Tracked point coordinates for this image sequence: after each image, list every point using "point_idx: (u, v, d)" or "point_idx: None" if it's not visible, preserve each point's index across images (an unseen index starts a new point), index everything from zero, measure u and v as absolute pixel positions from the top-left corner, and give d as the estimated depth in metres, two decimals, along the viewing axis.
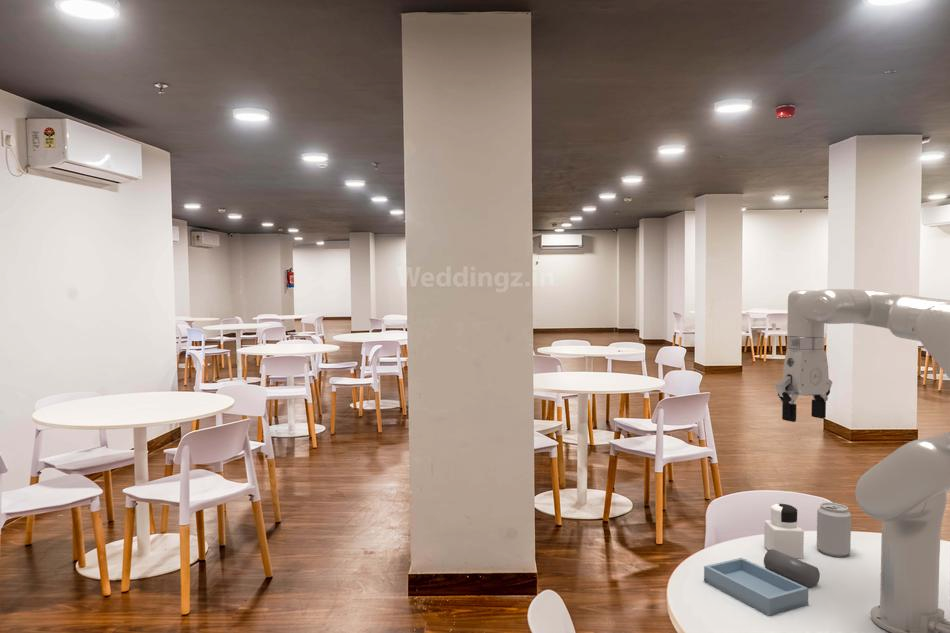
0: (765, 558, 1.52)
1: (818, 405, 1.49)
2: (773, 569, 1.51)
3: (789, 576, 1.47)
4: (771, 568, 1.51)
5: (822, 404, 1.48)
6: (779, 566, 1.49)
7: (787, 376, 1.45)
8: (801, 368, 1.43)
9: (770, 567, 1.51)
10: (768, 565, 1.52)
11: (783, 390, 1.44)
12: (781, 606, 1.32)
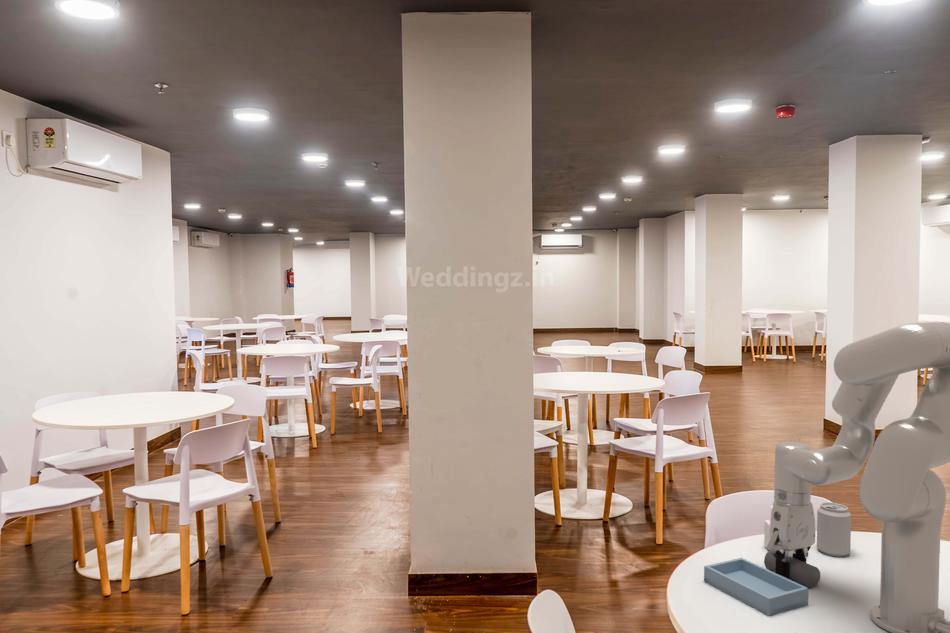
0: (766, 557, 1.52)
1: None
2: (773, 568, 1.51)
3: (789, 575, 1.47)
4: (771, 567, 1.51)
5: (803, 561, 1.49)
6: None
7: (775, 533, 1.47)
8: (788, 524, 1.44)
9: (770, 566, 1.51)
10: (768, 564, 1.51)
11: (775, 550, 1.46)
12: (781, 606, 1.32)
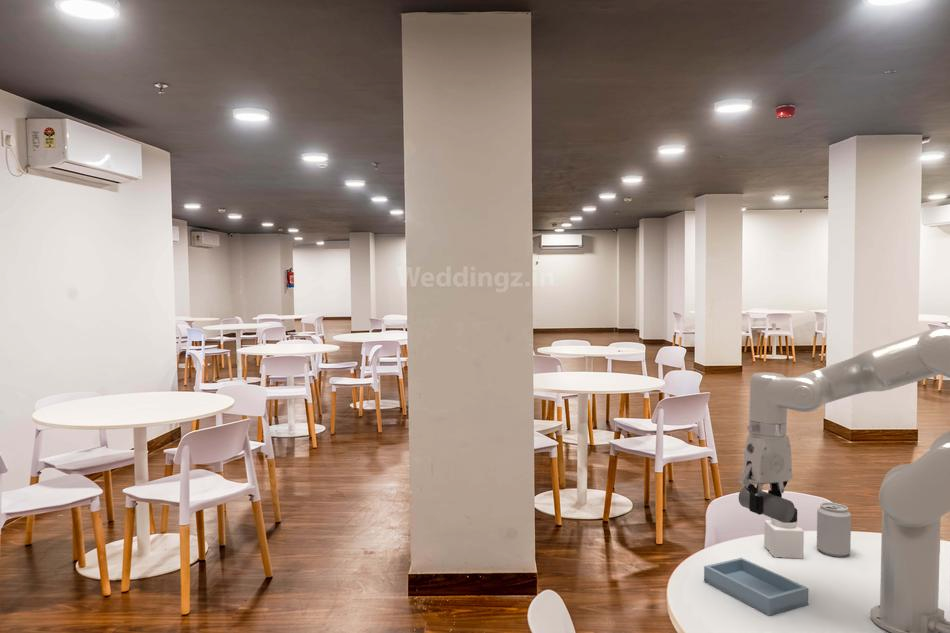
0: (740, 493, 1.46)
1: None
2: (747, 504, 1.44)
3: None
4: (745, 503, 1.45)
5: (778, 496, 1.42)
6: None
7: (748, 466, 1.40)
8: (761, 456, 1.38)
9: (744, 502, 1.45)
10: (743, 500, 1.45)
11: (748, 483, 1.39)
12: (781, 606, 1.32)
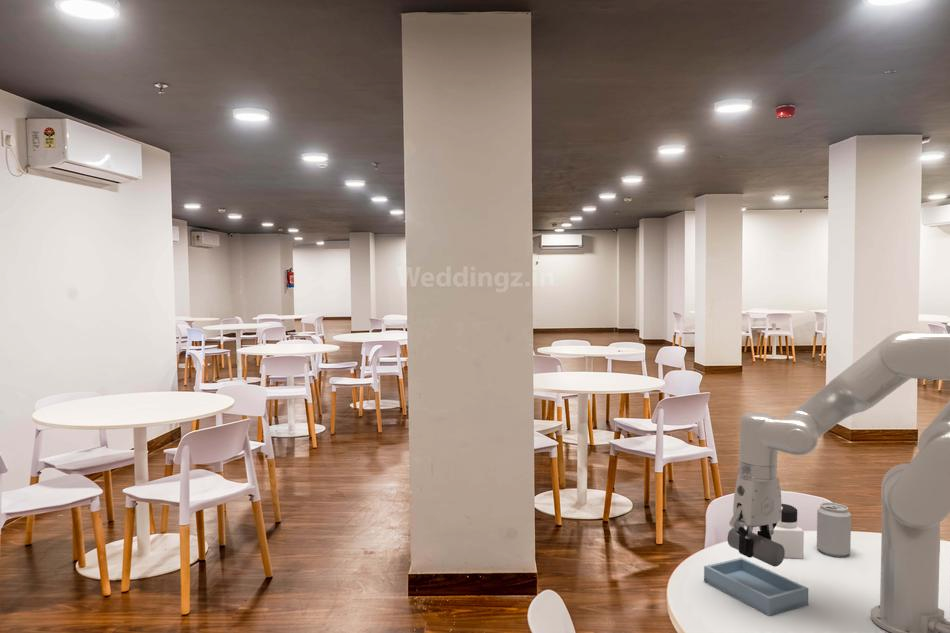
0: (729, 534, 1.44)
1: None
2: (736, 546, 1.42)
3: None
4: (734, 545, 1.43)
5: (767, 538, 1.40)
6: None
7: (738, 508, 1.38)
8: (751, 499, 1.36)
9: (733, 544, 1.43)
10: (732, 541, 1.43)
11: (738, 526, 1.37)
12: (781, 606, 1.32)
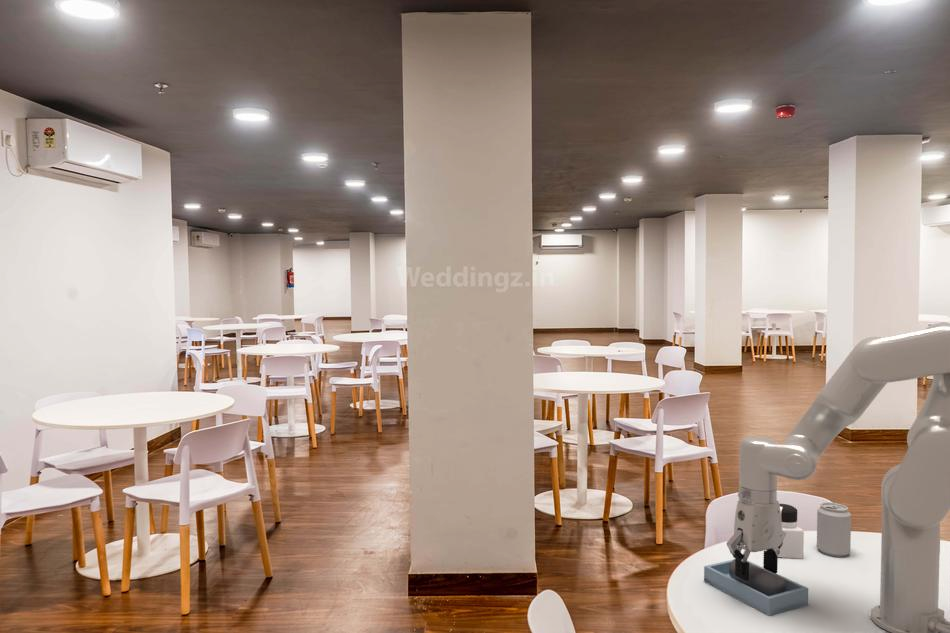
0: (731, 566, 1.44)
1: (770, 558, 1.42)
2: (738, 578, 1.42)
3: (754, 586, 1.38)
4: (736, 577, 1.43)
5: (774, 558, 1.41)
6: None
7: (738, 531, 1.38)
8: (752, 524, 1.36)
9: (735, 576, 1.43)
10: (733, 574, 1.43)
11: (734, 548, 1.37)
12: (781, 606, 1.32)
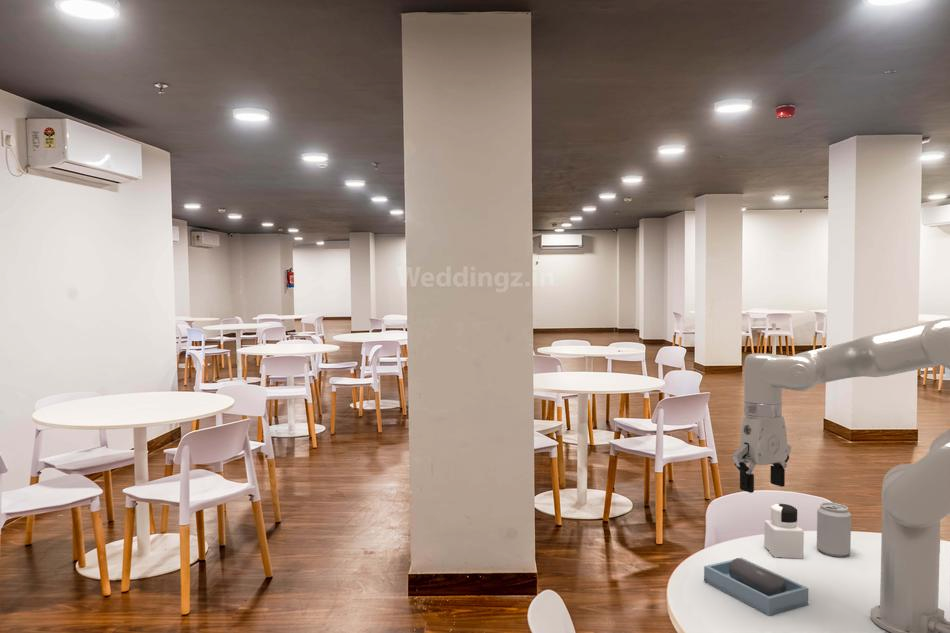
0: (730, 566, 1.44)
1: (777, 472, 1.43)
2: (738, 578, 1.42)
3: (754, 586, 1.38)
4: (736, 577, 1.43)
5: (781, 471, 1.42)
6: (745, 575, 1.40)
7: (744, 444, 1.39)
8: (758, 437, 1.37)
9: (735, 576, 1.43)
10: (733, 574, 1.43)
11: (740, 459, 1.37)
12: (781, 606, 1.32)
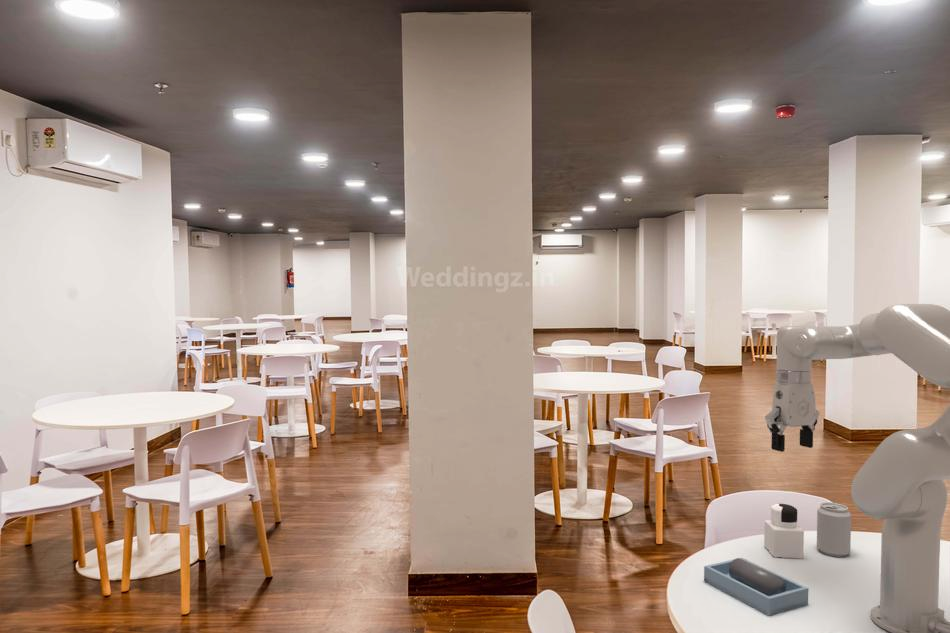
0: (731, 566, 1.44)
1: (806, 435, 1.57)
2: (738, 578, 1.42)
3: (754, 586, 1.38)
4: (736, 577, 1.43)
5: (809, 434, 1.56)
6: (745, 575, 1.40)
7: (776, 408, 1.53)
8: (789, 401, 1.51)
9: (735, 576, 1.43)
10: (733, 574, 1.43)
11: (772, 421, 1.51)
12: (781, 606, 1.32)
